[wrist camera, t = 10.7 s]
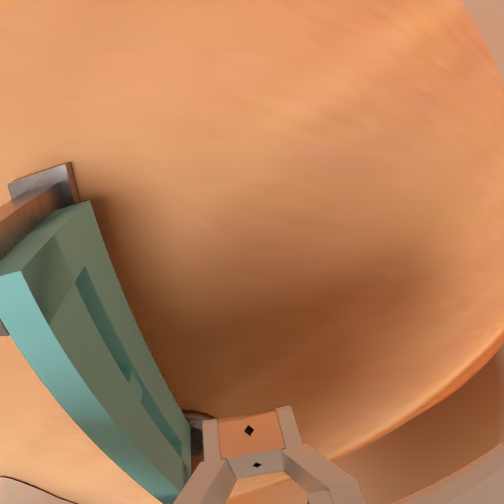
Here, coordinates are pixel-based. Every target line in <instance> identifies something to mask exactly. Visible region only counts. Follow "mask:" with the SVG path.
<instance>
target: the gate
mask: <svg viewBox="0 0 504 504" xmlns="http://www.w3.org/2000/svg"><path fill="white" fill-rule="evenodd" d="M0 319H1V321H2V322H3V324H4V326H5V327H6V329H7V331H8V332H9V334H10V336H11V337H12V339H13V340H14V342H15V344H16V345H17V347H18V348H19V350H20V351H21V353H22V354H23V356H24V357H25V359H26V360H27V362H28V363H29V364H30V366H31V367H32V369H33V370H34V371H35V373H36V374H37V376H38V377H39V378H40V380H41V381H42V382H43V384H44V385H45V386H46V388H47V389H48V390H49V391H50V393H51V394H52V395H53V396H54V398H55V399H56V400H57V401H58V403H59V404H60V405H61V406H62V407H63V409H64V410H65V411H66V412H67V413H68V415H69V416H70V417H71V418H72V419H73V420H74V421H75V422H76V424H77V425H78V426H79V427H80V428H81V429H82V430H83V431H84V432H85V433H86V434H87V436H88V437H89V438H90V439H91V440H92V441H93V442H94V443H95V444H96V445H97V446H98V447H99V448H100V449H101V450H102V451H103V452H104V453H105V454H106V455H107V456H108V457H109V458H110V459H111V460H112V461H114V462H115V463H116V464H117V465H118V466H119V467H120V468H121V469H122V470H123V471H124V472H126V473H127V474H128V475H129V476H130V477H131V478H132V479H134V480H135V481H136V482H137V483H138V484H139V485H141V486H142V487H143V488H144V489H145V490H147V491H148V492H149V493H150V494H152V495H153V496H154V497H155V498H157V499H158V500H159V501H161V502H162V503H163V504H173V503H174V501H175V500H176V498H177V497H178V495H179V494H180V492H181V491H182V489H183V488H184V486H185V485H186V483H187V482H188V480H189V479H190V477H191V476H192V475H191V435H190V425H189V423H188V422H187V420H186V418H185V416H184V415H183V413H182V411H181V409H180V408H179V406H178V404H177V402H176V401H175V399H174V397H173V395H172V393H171V391H170V390H169V388H168V386H167V384H166V382H165V380H164V378H163V376H162V375H161V373H160V371H159V369H158V367H157V365H156V363H155V361H154V359H153V357H152V355H151V353H150V351H149V349H148V347H147V344H146V342H145V340H144V338H143V336H142V334H141V332H140V329H139V327H138V325H137V323H136V321H135V318H134V316H133V314H132V312H131V309H130V307H129V305H128V302H127V300H126V298H125V295H124V293H123V290H122V288H121V286H120V283H119V281H118V278H117V276H116V273H115V270H114V268H113V265H112V263H111V260H110V257H109V255H108V252H107V249H106V246H105V244H104V241H103V238H102V235H101V232H100V229H99V226H98V223H97V220H96V217H95V214H94V211H93V208H92V205H91V202H90V200H88V201H85V202H81V203H78V204H75V205H71V206H68V207H65V208H62V209H59V210H56V211H55V212H53V213H52V214H51V215H50V216H49V217H47V218H46V219H45V220H44V221H43V222H42V223H41V224H39V225H38V226H37V227H36V228H35V229H34V230H33V231H31V232H30V233H29V234H28V235H27V236H26V237H25V238H24V239H23V240H22V241H21V242H20V243H18V244H17V245H16V246H15V247H14V248H13V249H12V250H11V251H10V252H9V253H8V254H7V255H6V256H5V257H4V258H3V259H2V260H1V261H0Z"/></svg>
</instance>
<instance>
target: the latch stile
mask: <svg viewBox="0 0 504 504" xmlns="http://www.w3.org/2000/svg"><path fill="white" fill-rule="evenodd" d="M8 188H9V192H10V195H11V199H12V200H11V201H9V202H8V203H6V204H4V205H3V206H1V207H0V261H1V260H2V259H3V258H4V257H5V256H6V255H7V254H8V253H9V252H10V251H11V250H12V249H13V248H14V247H15V246H16V245H17V244H18V243H20V242H21V241H22V240H23V239H24V238H25V237H26V236H27V235H28V234H29V233H30V232H31V231H33V230H34V229H35V228H36V227H37V226H38V225H39V224H41V223H42V222H43V221H44V220H45V219H46V218H47V217H49V216H50V215H51V214H52V213H53V212H55V211H56V210H59V209H62V208H65V207H68V206H71V205H75V204H78V203H80V199H79V195H78V192H77V188H76V184H75V180H74V176H73V172H72V168H71V163H70V162H68V163H65V164H62V165H58V166H55V167H52V168H49V169H46V170H43V171H40V172H37V173H35V174H32V175H29V176H26V177H23V178H21V179H18V180H15V181H13V182H11V183H9V184H8ZM9 335H10V334H9V332H8V331H7V329H6V327H5V326H4V324H3V322H2V321H1V319H0V336H9Z"/></svg>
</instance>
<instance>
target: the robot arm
mask: <svg viewBox="0 0 504 504" xmlns="http://www.w3.org/2000/svg"><path fill="white" fill-rule="evenodd" d="M202 430H203V447H204V462H200V463H199V465H198V466H197V468H196V469H195V471H194V473H193V474H192V476H191V477H190V479H189V480H188V482H187V483H186V485H185V486H184V488H183V489H182V491H181V492H180V494H179V495H178V497H177V498H176V500H175V501H174V503H173V504H225V503H226V501H227V499H228V497H229V495H230V493H231V491H232V489H233V487H234V485H235V482H236V479H238V478H244V477H250V476H255V475H260V474H267V473H273V472H278V471H285V472H286V473H287V474H288V475H289V476H290V477H291V478H292V479H293V480H294V481H295V482H297V483H298V484H299V485H300V486H301V487H302V488H303V489H305V490H306V491H307V492H308V493H309V494H310V495H309V497H308V504H366V502H365V500H364V497H363V495H362V492H361V489H360V487H359V484H358V481H357V479H355V478H354V477H353V476H351V475H350V474H348V473H347V472H345V471H344V470H342V469H341V468H339V467H338V466H336V465H335V464H334V463H332V462H331V461H330V460H328V459H327V458H326V457H324V456H323V455H321V454H320V453H319V452H317V451H316V450H315V449H313V448H312V447H311V446H309V445H308V444H302V441H301V438H300V434H299V431H298V427H297V424H296V421H295V417H294V414H293V411H292V408H291V406H290V405H288V406H283V407H279V408H276V409H275V408H273V409H268V410H264V411H259V412H254V413H249V414H245V415H239V416H233V417H226V418H219V419H218V418H217V419H210V420H203V424H202ZM0 504H74V503H71V502H68V501H65V500H62V499H59V498H57V497H55V496H52V495H50V494H48V493H46V492H43V491H41V490H39V489H36V488H34V487H32V486H29V485H27V484H24V483H21V482H19V481H16V480H13V479H9V478H4V477H0ZM391 504H504V441H503V442H502V443H500V444H499V445H498V446H496V447H495V448H493V449H492V450H490V451H489V452H487V453H486V454H484V455H483V456H481V457H480V458H478V459H477V460H475V461H473V462H472V463H470V464H469V465H467V466H465V467H464V468H462V469H460V470H458V471H457V472H455V473H453V474H451V475H450V476H448V477H446V478H444V479H442V480H440V481H438V482H437V483H435V484H433V485H431V486H429V487H427V488H425V489H423V490H421V491H418V492H416V493H414V494H412V495H410V496H407V497H405V498H403V499H401V500H399V501H396V502H394V503H391Z"/></svg>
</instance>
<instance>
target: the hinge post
mask: <svg viewBox="0 0 504 504" xmlns="http://www.w3.org/2000/svg"><path fill="white" fill-rule="evenodd" d="M182 413H183V415H184V416H185V418H186V420H187V422H188V423H189V425H190V435H191V475H192V474H193V473H194V471H195V469H196V468H197V466H198V465H199V463H200V462H204V447H203V430H202V424H203V420H210V419H215V418H213V417H211V416H209V415H207V414H204V413H200V412H194V411H182Z"/></svg>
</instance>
